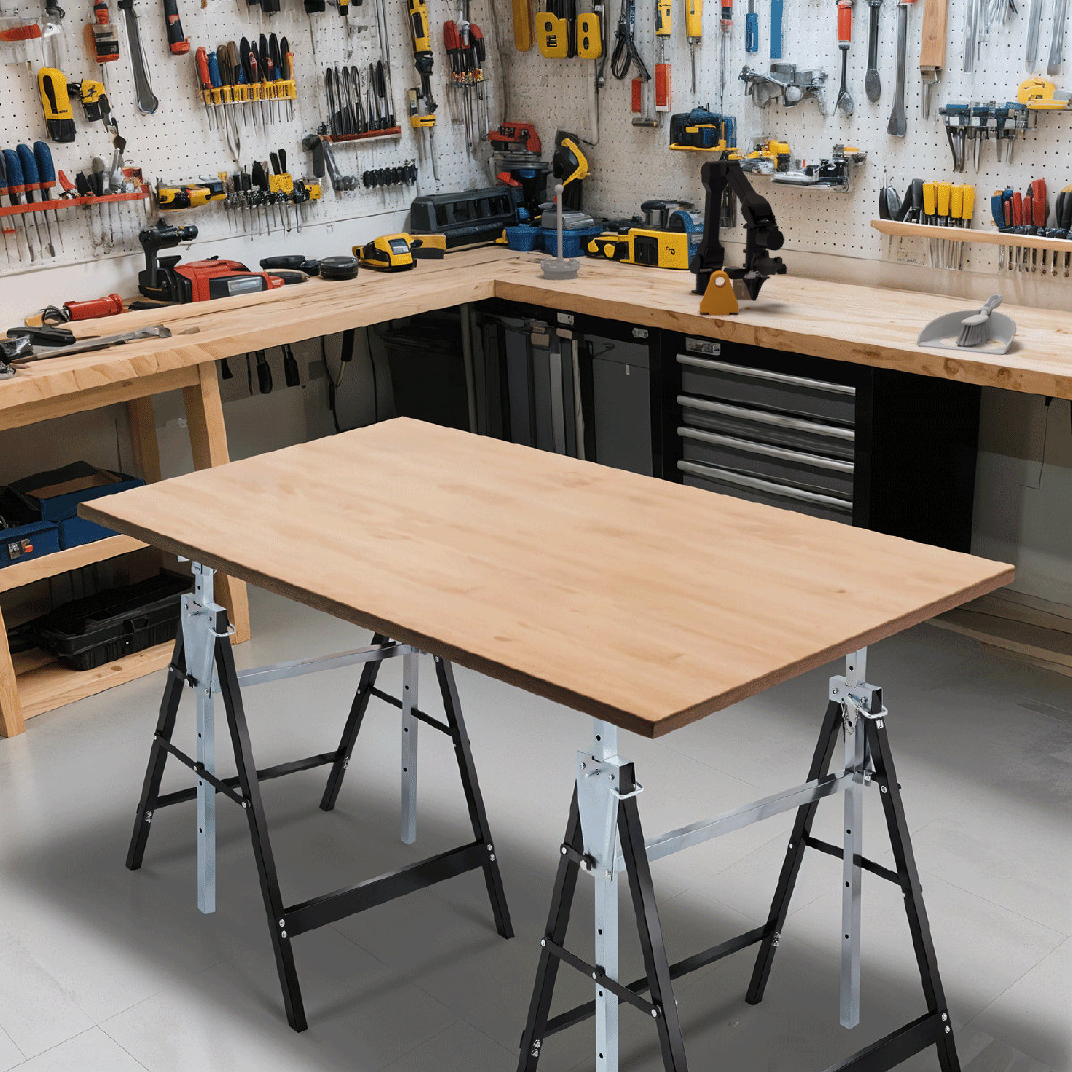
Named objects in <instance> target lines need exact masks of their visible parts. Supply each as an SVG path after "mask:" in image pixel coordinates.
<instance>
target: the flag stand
mask: <svg viewBox="0 0 1072 1072" xmlns="http://www.w3.org/2000/svg"><path fill="white" fill-rule="evenodd" d="M554 192H555V193H556V195H555V196H554V197H553V198H552V199H553V201H554V203H555V204H556V221H557V222H556V223H557V225H556V227H557V228H556V229H557V230H556V231H557V232H556V233H557V257H556V259H555V260H554V261H552V259H551V258H544V259H543V260H540V270H541V271H543V278H544V279H545V280H553V281H566V280H574V279H576V278H578V271H579V270H580V268H581V260H580V259H577V258H572V257H570V258H569V259H568V260H569V261H568V260H567V261H564V259H565V258H564V257H563V215H562V214H563V209H562V206H563V203H562V201H563V200H562V199H563V198H562V197H563V196H562V194H563V192H564V185H562V184H561V183H559V184H556V185H555V186H554Z"/></svg>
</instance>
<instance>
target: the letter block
mask: <svg viewBox="0 0 1072 1072" xmlns="http://www.w3.org/2000/svg"><path fill="white" fill-rule="evenodd" d="M732 289H733V291H734V294H735V297H736V300H737V301H752V299H751V297H750V294H749V292H748V289H747V287H746V285H745V283H744V281H743V280H742V279H736V280H732Z"/></svg>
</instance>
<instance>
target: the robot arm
mask: <svg viewBox="0 0 1072 1072" xmlns="http://www.w3.org/2000/svg"><path fill="white" fill-rule="evenodd" d="M700 179H701V180H700V182H701V184H702V186H703V188H704V190H705V197H704V198H705V199H704V201H705V202H704V213H703V214H704V217H703V229H702V239H701V241H700V242H699V244H698V245H697V247H696V251H695V256H694V258H693V259H692V261H691V263H690V264H689V272H690V273H691V274H693V275H695V289H692V290H691V293H694V294H698V295H701V296H704V294H705V291H706V289H707V287H708V284H709V282H710V277H711V275H712V274H713V273H714V272H715V271H718V270H721V271H724V272H726V273H727V275H728V277H729V280H732V281H733V280H736V279H742V280H743V281H744V283H745V285H746V287H747V289H748V292H749V294H750V297H751V299H752V300H751V301H753V302H756V301H757V300H758V296H759V294H760V292H761V289H762V286H763V284H764V283H765V282H766V281H768V280H769V279H770V278H771V276H776V274H777V275H781V276H782V275H788V266H787V265H786V263H783V258H782V257H781V256H775V257H770V252H769V251H774V252H776V251H779V250H780V249H782V248H783V246H784V244H785V235H784V234H783V232H782V231H781V230H779V228H780V227H779V225H778V223H777V218H776V217H775V215H774V212H773V211H774V210H773V209H772V206H771V204H770V202H769V201H768V200H767V199H766V198H765V196H762V195H761V194H759V193H757V192H756V190H755V189H754V187H753V185H752V184H751V183H750V181H749V179H748V177H747V176H746V174H745V173H744V170H743V169H742V166H741V163H740V161H737V160H731V161H730V160H729V161H727V160H714V161H713V160H712V161H709V160H708V161H705V162H704V163H703V164H702V165H701V168H700ZM728 185H730V187H731V188H732V190H733V192H734V194H735V195H736V196H737V197H736V198H738V201H739V203H740V204H741V205H740V206H741V207H740V212H741V215H742V217H743V219H744V221H745V222H746V223H745V224H744V225H743V226H742V228H743V229H744V230H746V231H745V248H743V249H742V253H743V254H745V260H744V261H745V262H743V263H742V267H740V266H736V265H735V266H725V267H724V268H723V266H724V262H725V261H726V260H725V253H726V248H725V247H724V246H722V243H721V242H720V231H721V218H722V202H723V193H724V191H725V189H726V187H727V186H728ZM716 280H717V279H716ZM716 280H715V284H716V282H717V281H716ZM716 285H717V284H716Z"/></svg>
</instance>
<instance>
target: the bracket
mask: <svg viewBox="0 0 1072 1072" xmlns="http://www.w3.org/2000/svg"><path fill="white" fill-rule="evenodd" d="M718 278H723V279H724V281H723V283H722V284H715V280H717V279H718ZM702 296H703V297H702V299H701V301H699V313H700V314H703V313H704V314H707V313H708V316H729V315H730V313H732V314H733V313H734V314H735V313H738V314H739V302H738V300H736V297H735V294H734V291H733V285H732V283H731V279H729V277H728V275H727V273H726V272H724V271H723V270H722V271H721V270H718V271H715V272H714V273H713V274H712V275H711V277H710V282H709V284H708V287H707V289H706V291H705V294H704V295H702Z"/></svg>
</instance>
